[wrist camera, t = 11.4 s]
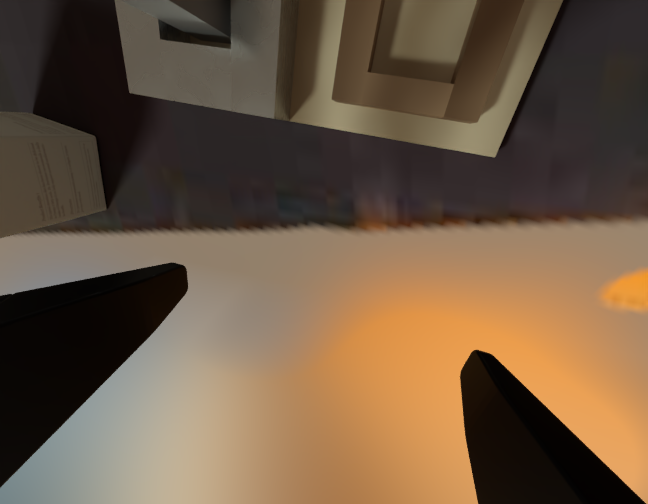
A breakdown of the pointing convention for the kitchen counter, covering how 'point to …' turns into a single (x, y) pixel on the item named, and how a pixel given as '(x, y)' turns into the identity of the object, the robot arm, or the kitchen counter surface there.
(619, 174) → the kitchen counter surface
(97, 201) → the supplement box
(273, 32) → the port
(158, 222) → the kitchen counter surface
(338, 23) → the board
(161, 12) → the plug
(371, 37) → the brown rectangular frame
